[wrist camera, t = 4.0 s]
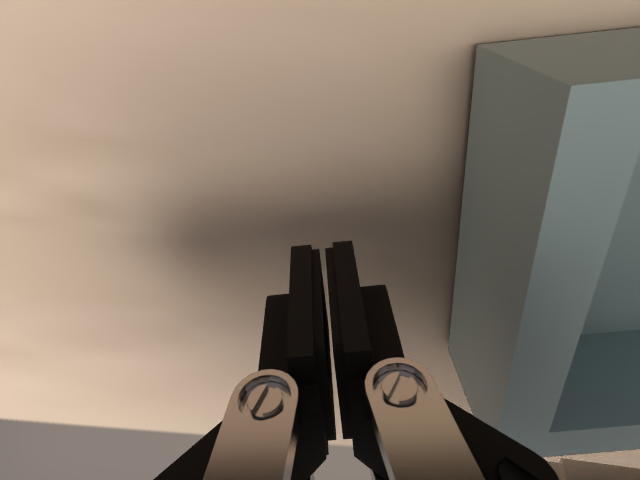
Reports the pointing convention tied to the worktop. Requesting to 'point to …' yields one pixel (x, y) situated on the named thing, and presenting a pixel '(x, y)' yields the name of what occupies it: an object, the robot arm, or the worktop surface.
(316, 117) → the worktop surface
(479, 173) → the holder
